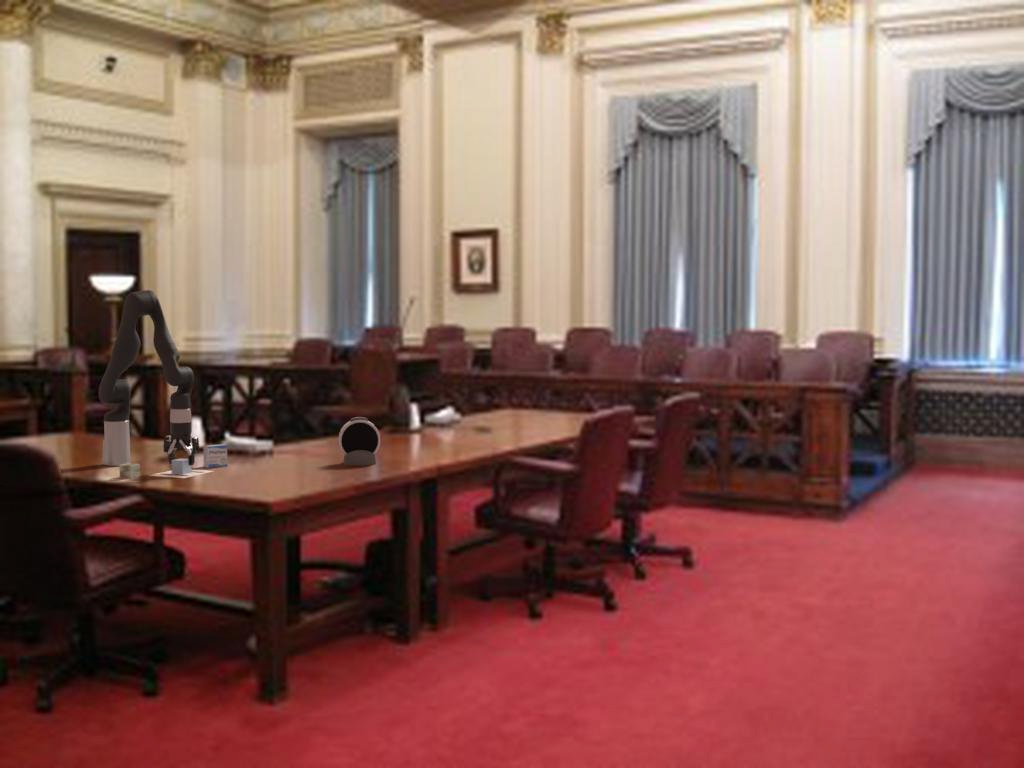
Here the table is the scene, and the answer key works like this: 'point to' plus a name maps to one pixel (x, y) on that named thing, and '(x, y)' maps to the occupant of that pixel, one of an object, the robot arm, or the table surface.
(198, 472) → the letter sheet
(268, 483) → the table surface
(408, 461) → the table surface
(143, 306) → the robot arm
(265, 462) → the table surface
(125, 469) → the block
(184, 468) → the blue cube
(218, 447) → the medicine box
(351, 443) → the alarm clock
